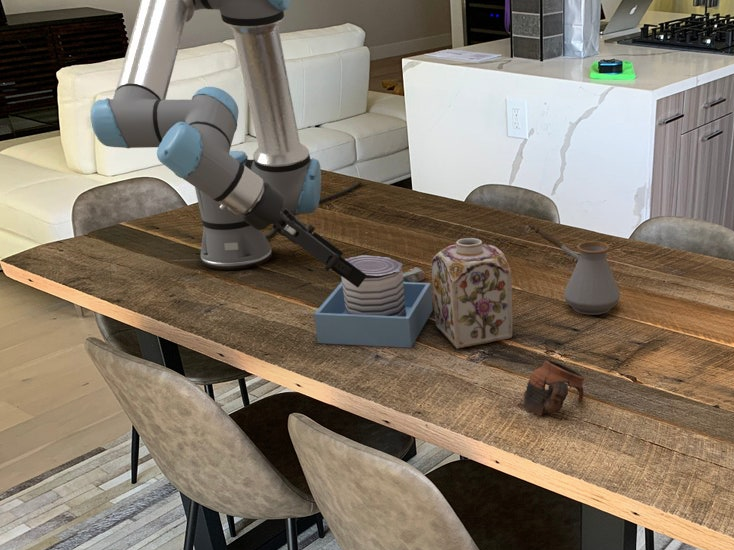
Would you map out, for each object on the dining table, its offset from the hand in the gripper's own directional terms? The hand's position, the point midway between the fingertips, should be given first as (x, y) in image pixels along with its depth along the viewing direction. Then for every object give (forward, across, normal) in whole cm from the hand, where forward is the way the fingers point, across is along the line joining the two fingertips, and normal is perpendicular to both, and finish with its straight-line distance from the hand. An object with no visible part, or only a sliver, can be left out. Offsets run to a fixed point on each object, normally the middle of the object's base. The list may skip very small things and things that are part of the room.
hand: (349, 269), depth 160 cm
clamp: (+19, -17, +1) cm, 25 cm away
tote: (+11, 0, -6) cm, 13 cm away
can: (+11, 0, -5) cm, 12 cm away
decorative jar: (+22, +12, +5) cm, 26 cm away
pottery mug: (+21, +44, +4) cm, 49 cm away
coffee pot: (+39, +8, +21) cm, 45 cm away
